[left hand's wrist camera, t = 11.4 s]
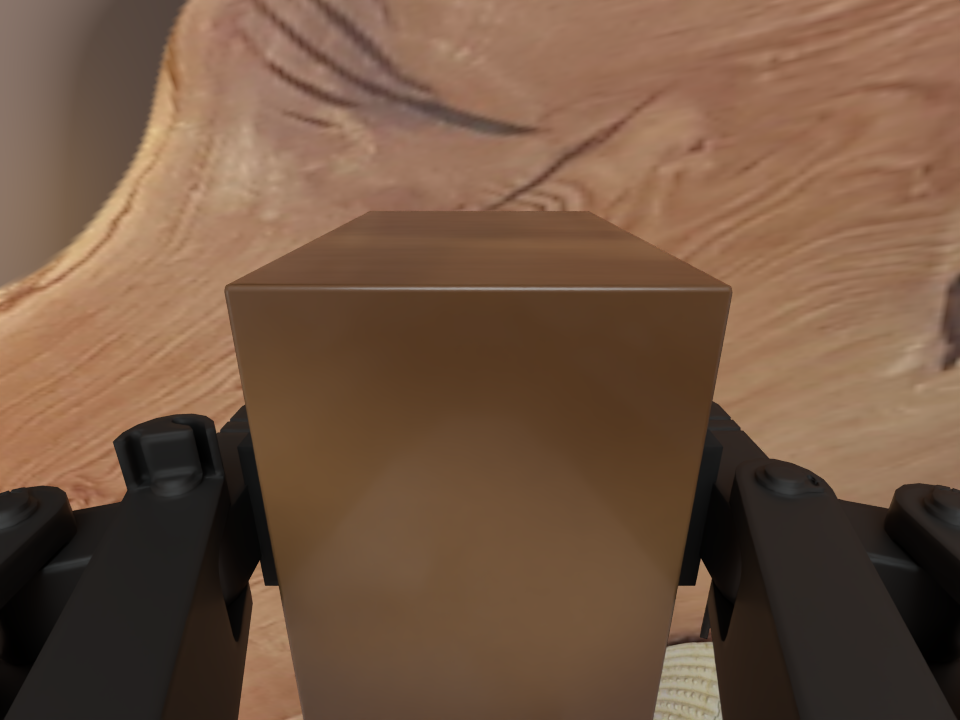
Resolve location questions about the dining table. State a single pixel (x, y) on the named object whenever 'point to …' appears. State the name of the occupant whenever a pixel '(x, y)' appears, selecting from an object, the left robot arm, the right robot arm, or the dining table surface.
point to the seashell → (688, 684)
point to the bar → (478, 459)
